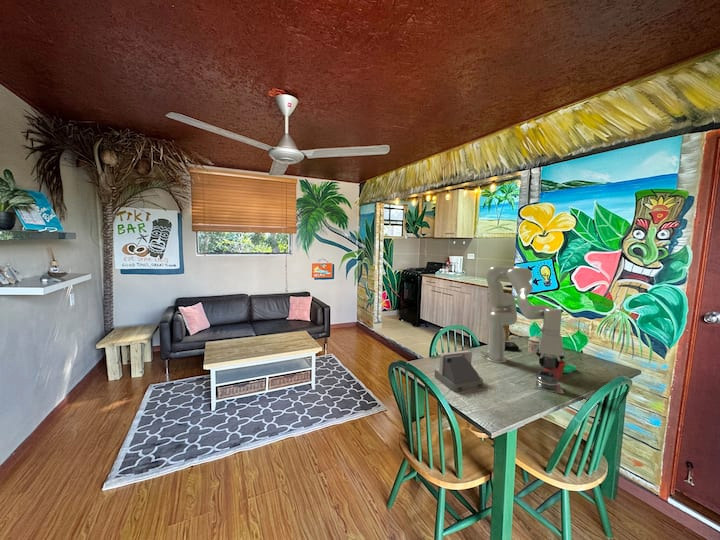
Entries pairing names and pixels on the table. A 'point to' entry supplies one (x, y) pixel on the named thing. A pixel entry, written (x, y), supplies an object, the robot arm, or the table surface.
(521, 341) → the table surface
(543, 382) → the lens barrel
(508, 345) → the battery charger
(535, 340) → the teacup with lid
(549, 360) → the dark grey cube
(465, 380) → the grey sloped stand
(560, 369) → the flower pot
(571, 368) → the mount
